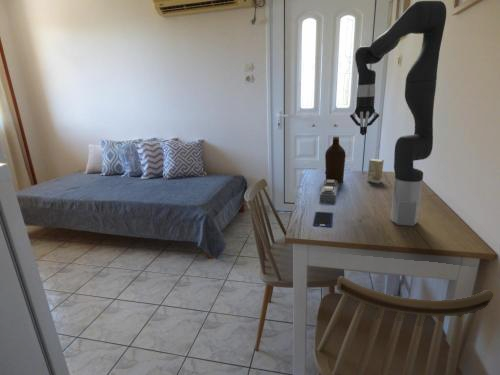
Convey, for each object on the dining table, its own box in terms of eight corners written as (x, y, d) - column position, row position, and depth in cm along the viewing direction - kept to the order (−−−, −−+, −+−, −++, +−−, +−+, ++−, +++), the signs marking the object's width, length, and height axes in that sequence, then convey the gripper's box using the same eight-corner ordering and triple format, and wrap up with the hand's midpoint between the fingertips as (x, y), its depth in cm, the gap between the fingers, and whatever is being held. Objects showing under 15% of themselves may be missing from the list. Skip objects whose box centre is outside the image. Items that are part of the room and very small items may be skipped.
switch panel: (335, 202, 139) (335, 193, 138) (319, 201, 141) (320, 192, 140) (338, 187, 159) (338, 179, 157) (324, 186, 161) (324, 179, 160)
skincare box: (367, 181, 165) (368, 160, 161) (370, 179, 168) (371, 158, 164) (378, 183, 161) (380, 161, 157) (381, 181, 164) (383, 159, 160)
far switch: (334, 182, 151) (334, 180, 151) (326, 182, 152) (326, 179, 152) (334, 182, 156) (334, 179, 156) (327, 182, 157) (327, 179, 157)
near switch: (332, 191, 140) (332, 188, 140) (324, 190, 141) (324, 187, 141) (333, 189, 145) (333, 186, 145) (325, 188, 146) (325, 186, 146)
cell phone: (312, 227, 117) (312, 225, 117) (315, 212, 130) (315, 211, 129) (332, 228, 115) (332, 226, 115) (333, 214, 128) (333, 212, 127)
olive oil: (348, 181, 167) (350, 136, 159) (336, 185, 161) (337, 139, 153) (332, 177, 175) (334, 134, 168) (320, 181, 169) (321, 137, 162)
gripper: (349, 96, 132) (347, 136, 137) (382, 95, 127) (379, 136, 133) (350, 95, 138) (348, 133, 144) (381, 94, 134) (378, 133, 139)
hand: (363, 134), depth 138 cm, fingers closed
